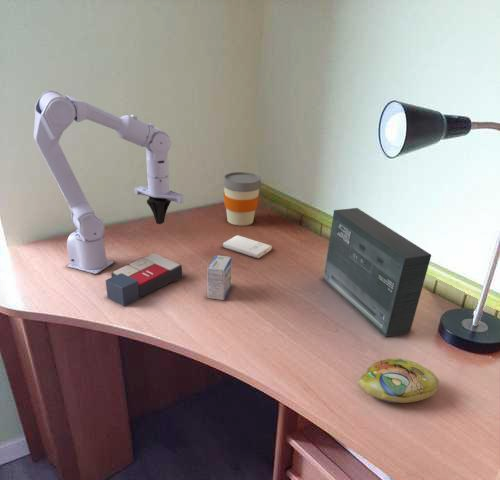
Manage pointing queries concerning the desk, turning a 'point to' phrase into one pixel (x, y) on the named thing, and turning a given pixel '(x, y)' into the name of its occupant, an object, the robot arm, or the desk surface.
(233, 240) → the hard drive
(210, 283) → the medicine box
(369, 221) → the cassette player
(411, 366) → the cell model
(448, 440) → the desk surface
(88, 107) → the robot arm
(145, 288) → the calculator
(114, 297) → the block
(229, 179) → the reusable coffee cup
